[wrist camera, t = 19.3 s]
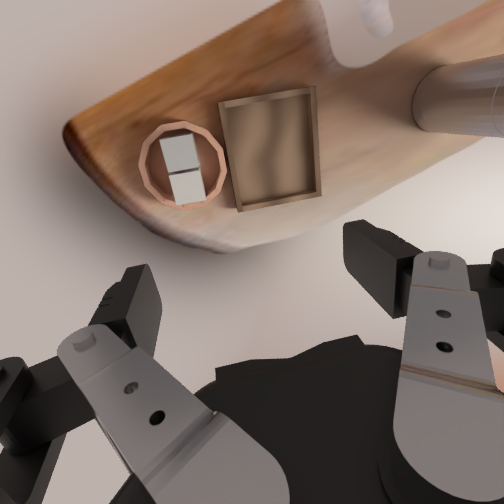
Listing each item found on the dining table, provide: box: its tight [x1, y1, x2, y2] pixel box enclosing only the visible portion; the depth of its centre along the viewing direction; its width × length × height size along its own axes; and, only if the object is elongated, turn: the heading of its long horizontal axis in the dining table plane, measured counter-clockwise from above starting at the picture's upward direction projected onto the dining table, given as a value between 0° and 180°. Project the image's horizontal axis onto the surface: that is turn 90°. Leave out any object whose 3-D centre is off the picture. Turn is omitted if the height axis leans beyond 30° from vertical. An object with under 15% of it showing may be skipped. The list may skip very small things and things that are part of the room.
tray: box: [217, 86, 322, 212], centre depth 45 cm, size 14×16×2 cm
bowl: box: [138, 121, 227, 210], centre depth 43 cm, size 12×12×4 cm
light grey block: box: [159, 132, 199, 173], centre depth 40 cm, size 4×4×6 cm
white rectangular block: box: [169, 164, 206, 205], centre depth 42 cm, size 4×4×6 cm
